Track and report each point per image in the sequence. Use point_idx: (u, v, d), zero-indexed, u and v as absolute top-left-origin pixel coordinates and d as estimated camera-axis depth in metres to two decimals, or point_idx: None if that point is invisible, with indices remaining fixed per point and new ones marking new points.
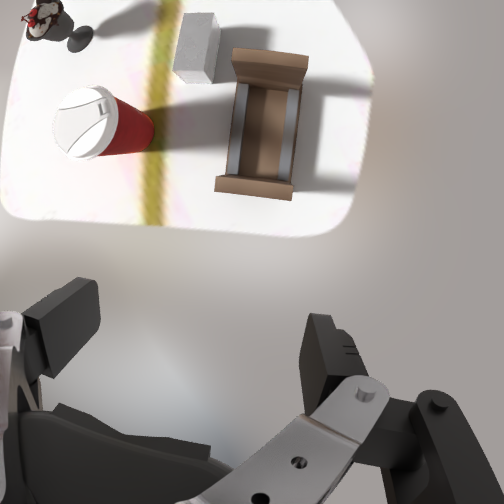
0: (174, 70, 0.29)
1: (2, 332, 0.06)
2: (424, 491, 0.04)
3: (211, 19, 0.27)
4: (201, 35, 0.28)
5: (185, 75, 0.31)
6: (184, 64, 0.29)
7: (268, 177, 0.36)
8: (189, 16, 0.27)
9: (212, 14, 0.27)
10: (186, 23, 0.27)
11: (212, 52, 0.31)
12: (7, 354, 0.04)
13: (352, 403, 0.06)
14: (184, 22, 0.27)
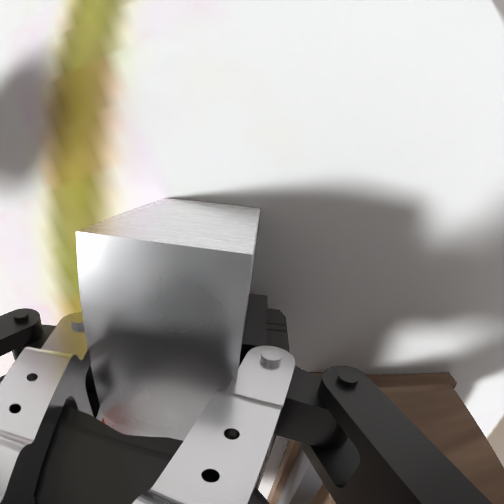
0: None
1: (72, 335, 0.07)
2: (358, 468, 0.05)
3: (241, 306, 0.06)
4: (194, 390, 0.06)
5: None
6: None
7: None
8: (105, 263, 0.06)
9: (242, 267, 0.05)
10: (101, 305, 0.06)
11: None
12: (63, 363, 0.05)
13: (252, 368, 0.07)
14: (88, 293, 0.06)
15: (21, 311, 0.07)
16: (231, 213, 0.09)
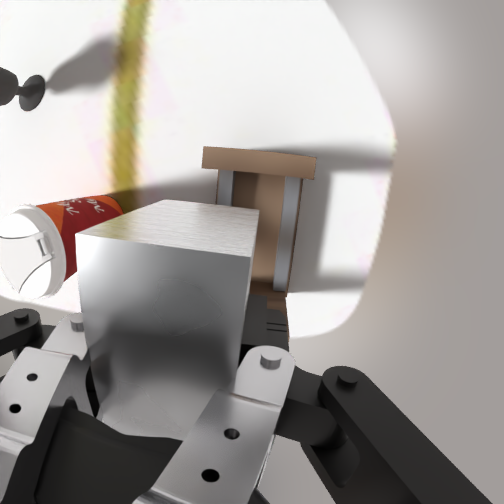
0: None
1: (72, 335, 0.07)
2: (358, 468, 0.05)
3: (239, 308, 0.06)
4: (193, 391, 0.06)
5: None
6: None
7: (262, 280, 0.31)
8: (104, 265, 0.06)
9: (241, 269, 0.06)
10: (101, 307, 0.06)
11: None
12: (63, 363, 0.05)
13: (252, 368, 0.07)
14: (88, 295, 0.06)
15: (21, 311, 0.07)
16: (230, 215, 0.09)
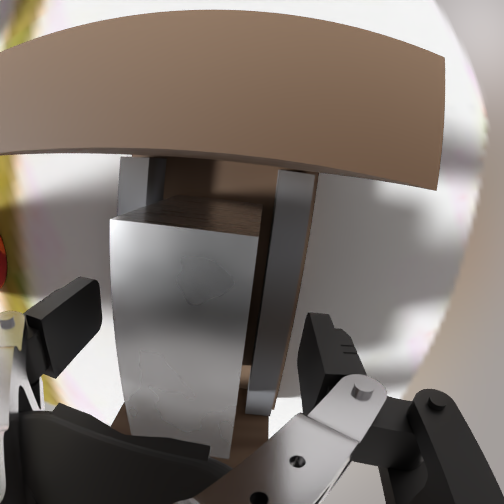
0: None
1: (4, 332, 0.06)
2: (423, 490, 0.04)
3: (248, 280, 0.07)
4: (208, 356, 0.08)
5: None
6: (164, 435, 0.09)
7: None
8: (135, 245, 0.07)
9: (250, 247, 0.07)
10: (130, 282, 0.07)
11: None
12: (9, 354, 0.04)
13: (349, 402, 0.06)
14: (118, 273, 0.07)
15: None
16: (238, 207, 0.11)
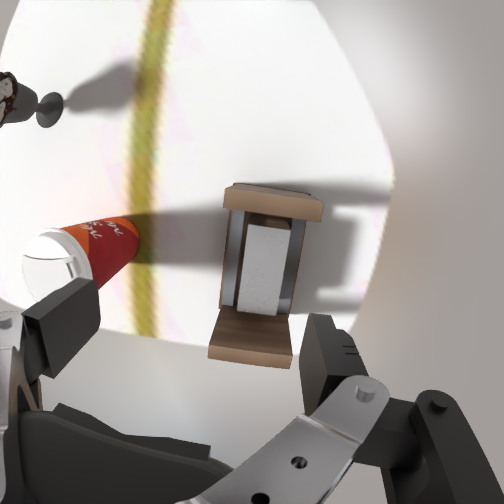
0: (239, 309, 0.28)
1: (3, 332, 0.06)
2: (424, 491, 0.04)
3: (287, 242, 0.26)
4: (274, 266, 0.27)
5: None
6: (252, 305, 0.28)
7: None
8: (255, 232, 0.26)
9: (288, 233, 0.26)
10: (252, 243, 0.26)
11: None
12: (7, 354, 0.04)
13: (352, 403, 0.06)
14: (249, 240, 0.26)
15: None
16: (278, 221, 0.30)
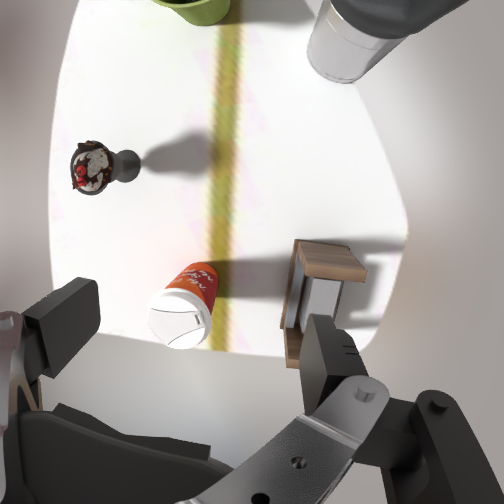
0: (303, 333, 0.40)
1: (3, 332, 0.06)
2: (424, 491, 0.04)
3: (338, 289, 0.38)
4: (328, 304, 0.38)
5: None
6: None
7: None
8: (318, 283, 0.38)
9: (339, 283, 0.38)
10: (315, 290, 0.38)
11: None
12: (7, 354, 0.04)
13: (352, 403, 0.06)
14: (313, 288, 0.38)
15: None
16: None
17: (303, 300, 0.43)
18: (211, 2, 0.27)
